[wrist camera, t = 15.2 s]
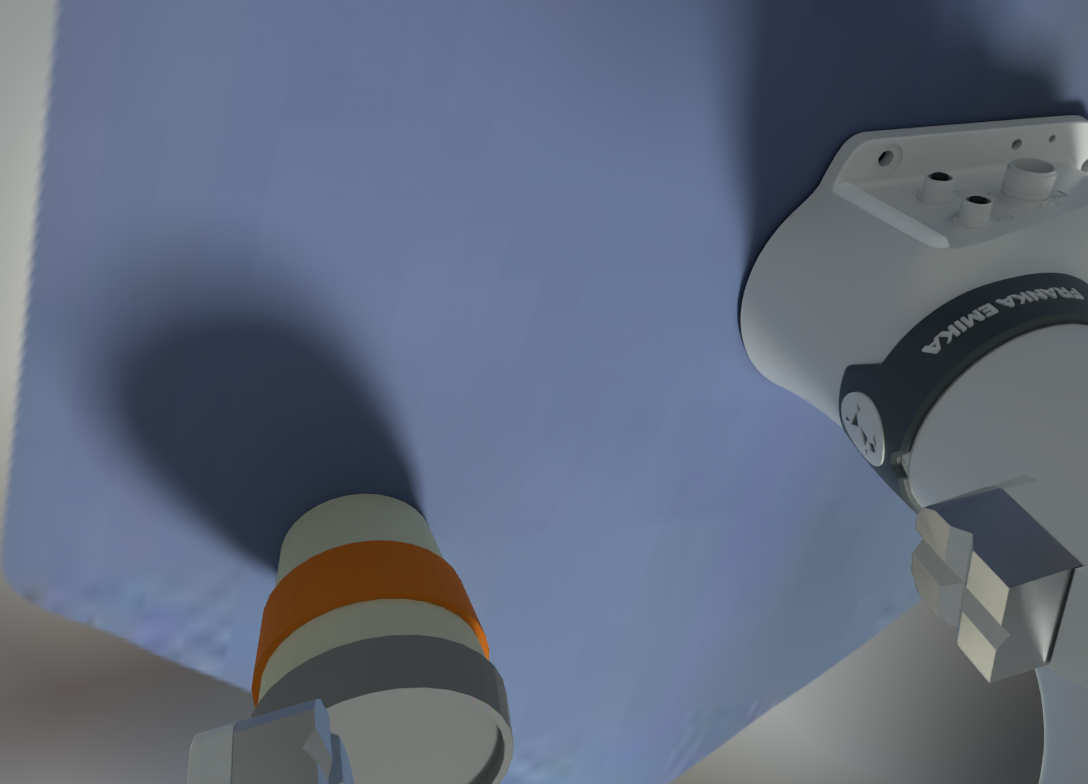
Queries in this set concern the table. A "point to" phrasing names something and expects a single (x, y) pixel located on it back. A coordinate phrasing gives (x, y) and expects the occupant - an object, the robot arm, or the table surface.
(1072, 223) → the robot arm
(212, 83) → the table surface
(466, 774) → the reusable coffee cup
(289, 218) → the table surface
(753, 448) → the table surface
